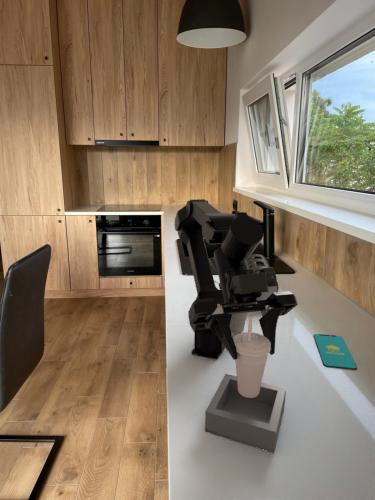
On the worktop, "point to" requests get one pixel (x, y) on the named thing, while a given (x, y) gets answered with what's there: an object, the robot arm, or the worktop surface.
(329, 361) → the smartphone
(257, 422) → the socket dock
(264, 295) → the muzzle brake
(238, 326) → the house plant
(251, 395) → the smoothie
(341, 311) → the worktop surface
